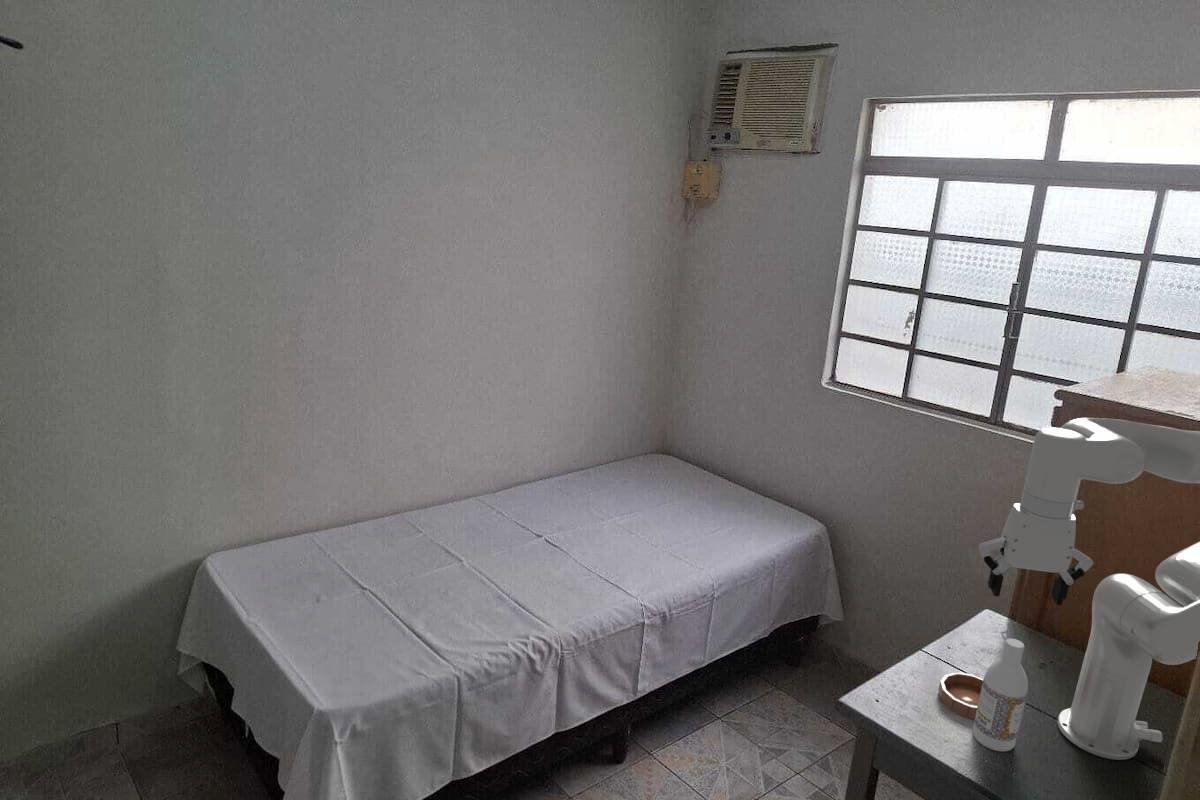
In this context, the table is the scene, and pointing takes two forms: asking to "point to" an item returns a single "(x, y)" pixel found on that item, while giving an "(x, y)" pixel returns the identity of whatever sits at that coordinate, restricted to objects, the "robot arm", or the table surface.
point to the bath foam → (1002, 700)
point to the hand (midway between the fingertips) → (1024, 596)
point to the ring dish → (961, 693)
